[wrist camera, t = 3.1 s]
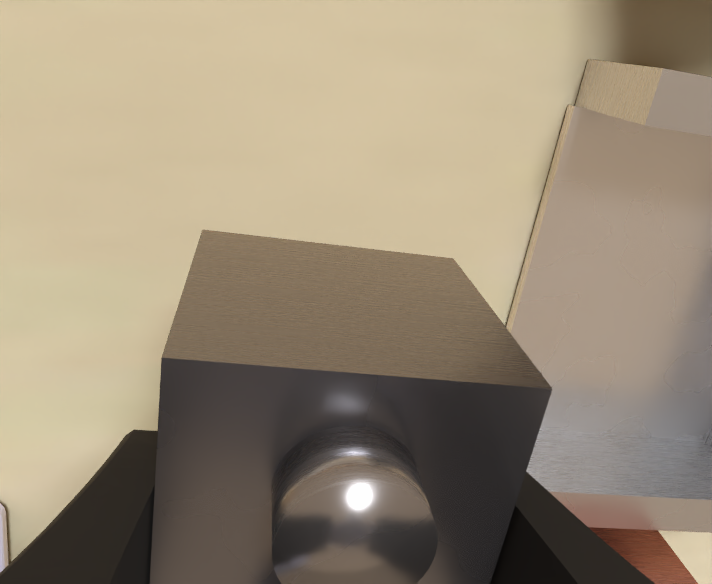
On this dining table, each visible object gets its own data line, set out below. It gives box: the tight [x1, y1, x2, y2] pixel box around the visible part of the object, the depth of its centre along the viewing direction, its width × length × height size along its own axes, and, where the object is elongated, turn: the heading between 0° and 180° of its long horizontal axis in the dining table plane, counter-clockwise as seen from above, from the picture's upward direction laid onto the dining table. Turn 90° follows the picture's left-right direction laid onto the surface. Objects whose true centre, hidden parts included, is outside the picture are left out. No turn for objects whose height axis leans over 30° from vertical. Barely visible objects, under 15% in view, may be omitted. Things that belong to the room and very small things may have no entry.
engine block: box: [150, 230, 552, 584], centre depth 10 cm, size 4×6×6 cm
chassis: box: [506, 59, 712, 584], centre depth 20 cm, size 9×26×6 cm, turn 171°
